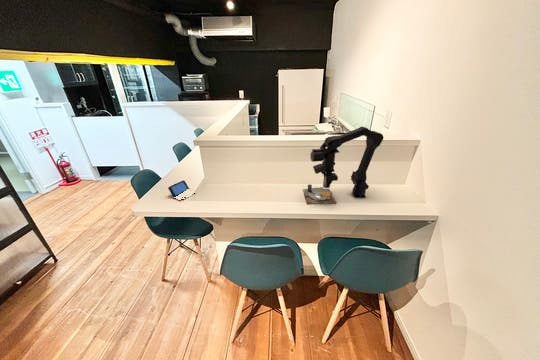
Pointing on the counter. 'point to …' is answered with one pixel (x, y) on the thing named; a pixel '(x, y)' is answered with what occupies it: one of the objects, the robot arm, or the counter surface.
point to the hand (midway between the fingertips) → (326, 185)
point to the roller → (325, 184)
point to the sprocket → (318, 193)
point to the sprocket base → (311, 201)
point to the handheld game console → (178, 188)
